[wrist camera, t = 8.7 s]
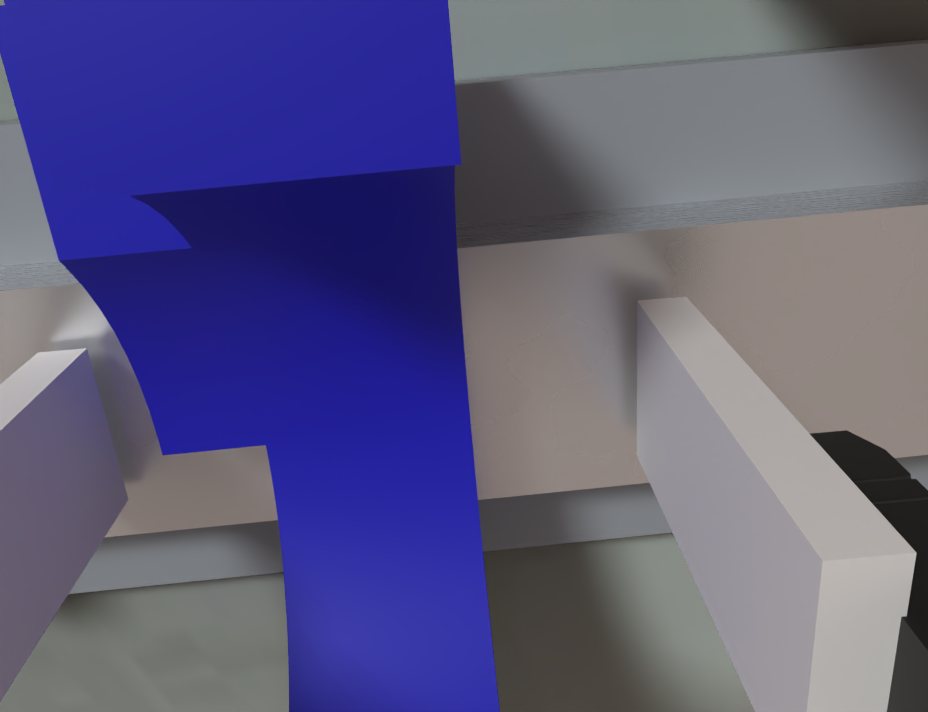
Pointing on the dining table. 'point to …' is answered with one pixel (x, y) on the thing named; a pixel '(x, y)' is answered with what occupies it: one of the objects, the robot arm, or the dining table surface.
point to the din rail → (581, 340)
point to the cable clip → (287, 295)
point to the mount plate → (582, 190)
